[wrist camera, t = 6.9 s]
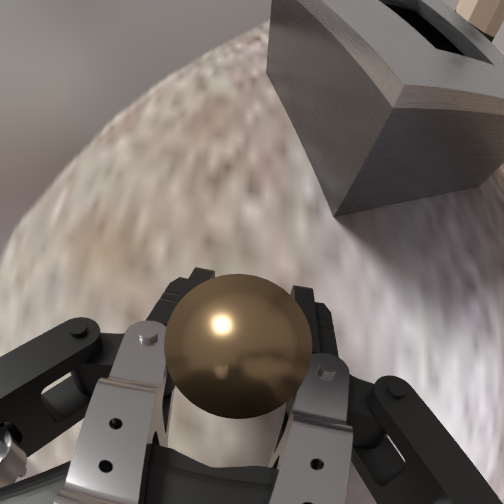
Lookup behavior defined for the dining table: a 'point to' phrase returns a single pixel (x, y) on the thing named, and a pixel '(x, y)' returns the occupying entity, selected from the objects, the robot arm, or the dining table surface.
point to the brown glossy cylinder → (238, 346)
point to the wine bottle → (483, 15)
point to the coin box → (388, 97)
